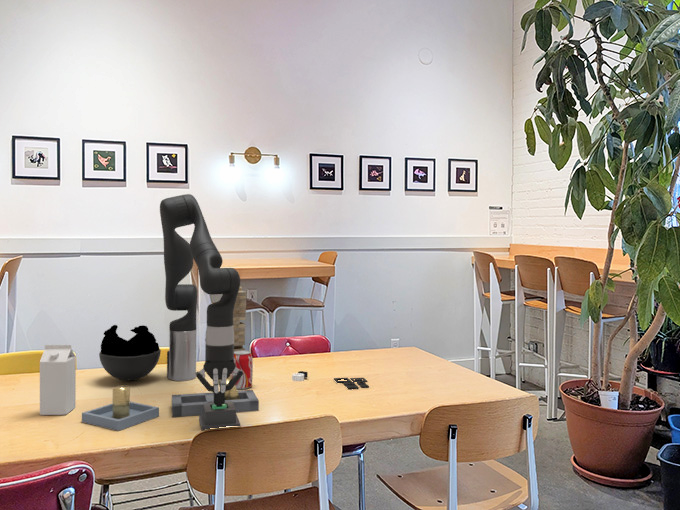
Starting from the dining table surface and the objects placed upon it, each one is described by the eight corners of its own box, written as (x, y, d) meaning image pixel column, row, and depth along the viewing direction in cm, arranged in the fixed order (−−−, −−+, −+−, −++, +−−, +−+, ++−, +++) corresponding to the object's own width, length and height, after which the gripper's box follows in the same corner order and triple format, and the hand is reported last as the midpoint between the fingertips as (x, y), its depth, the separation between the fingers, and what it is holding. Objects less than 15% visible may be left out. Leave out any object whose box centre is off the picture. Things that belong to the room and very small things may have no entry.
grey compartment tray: (172, 417, 160) (172, 406, 159) (171, 404, 171) (171, 394, 171) (258, 410, 167) (258, 400, 167) (252, 399, 178) (252, 389, 178)
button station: (201, 430, 149) (201, 413, 149) (199, 418, 159) (199, 402, 158) (240, 427, 152) (240, 410, 152) (235, 415, 162) (235, 400, 161)
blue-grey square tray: (81, 422, 154) (81, 412, 154) (123, 408, 167) (123, 400, 167) (118, 430, 148) (118, 421, 148) (159, 416, 160) (159, 407, 160)
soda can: (247, 391, 187) (248, 354, 187) (227, 389, 189) (227, 353, 188) (255, 385, 194) (255, 350, 194) (235, 384, 196) (236, 349, 195)
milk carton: (50, 408, 166) (50, 342, 166) (75, 407, 167) (75, 342, 166) (39, 415, 159) (39, 347, 159) (66, 415, 160) (66, 347, 159)
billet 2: (223, 406, 169) (214, 383, 173) (235, 405, 172) (226, 381, 176) (231, 399, 167) (222, 375, 171) (243, 397, 170) (234, 374, 174)
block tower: (227, 361, 231) (228, 288, 230) (220, 357, 239) (221, 287, 238) (246, 359, 235) (247, 288, 234) (239, 355, 243) (239, 286, 242)
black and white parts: (290, 380, 205) (290, 370, 205) (358, 377, 211) (358, 368, 211) (300, 395, 185) (300, 385, 185) (374, 391, 191) (374, 381, 191)
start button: (212, 419, 153) (212, 408, 153) (211, 415, 157) (211, 404, 156) (227, 418, 154) (227, 407, 154) (226, 413, 158) (226, 403, 158)
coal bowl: (171, 380, 200) (171, 326, 199) (115, 390, 185) (116, 332, 185) (142, 370, 214) (143, 320, 213) (89, 379, 199) (89, 325, 198)
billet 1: (108, 417, 156) (109, 387, 156) (121, 412, 160) (122, 384, 160) (120, 419, 154) (120, 390, 154) (133, 415, 158) (133, 386, 158)
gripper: (195, 345, 149) (194, 411, 150) (246, 343, 153) (245, 408, 153) (193, 340, 156) (193, 403, 157) (242, 338, 160) (241, 400, 161)
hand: (219, 405), depth 155 cm, fingers closed
